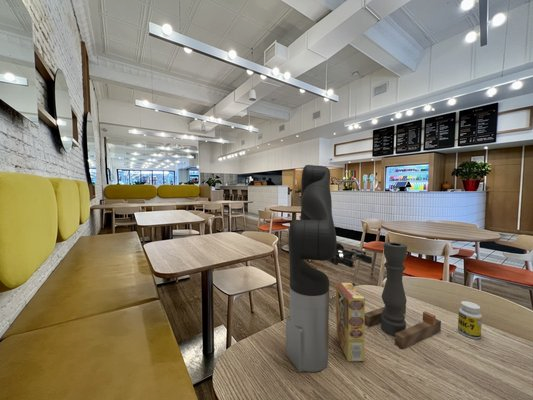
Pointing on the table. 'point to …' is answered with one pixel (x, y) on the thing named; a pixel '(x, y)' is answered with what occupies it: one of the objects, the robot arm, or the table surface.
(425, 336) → the guide rails
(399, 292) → the candle holder
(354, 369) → the table surface
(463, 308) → the supplement bottle
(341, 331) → the candy box
